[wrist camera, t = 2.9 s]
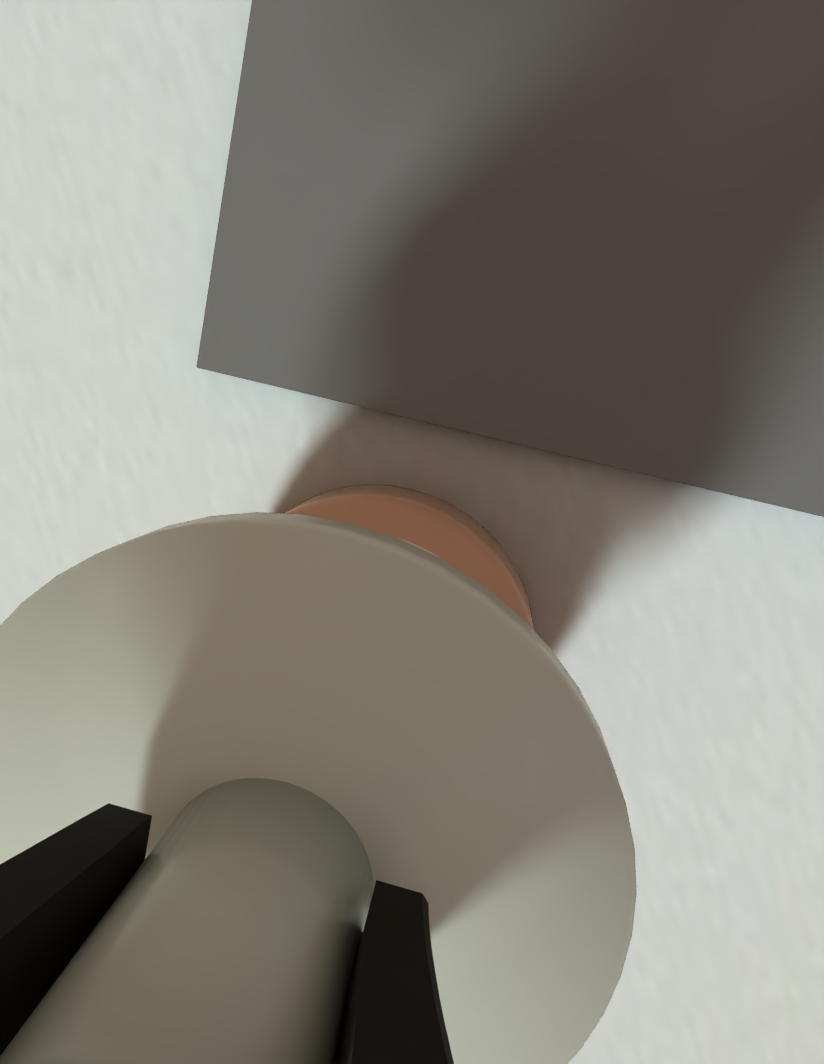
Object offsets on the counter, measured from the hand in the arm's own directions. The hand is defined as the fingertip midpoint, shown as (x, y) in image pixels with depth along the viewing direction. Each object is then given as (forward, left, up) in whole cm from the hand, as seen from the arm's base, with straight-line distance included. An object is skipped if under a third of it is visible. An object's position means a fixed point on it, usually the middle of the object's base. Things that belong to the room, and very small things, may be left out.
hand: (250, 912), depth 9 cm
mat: (-3, -12, -10) cm, 16 cm away
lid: (0, 0, -2) cm, 2 cm away
